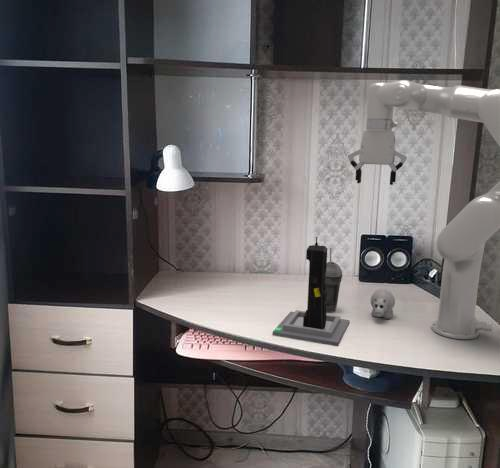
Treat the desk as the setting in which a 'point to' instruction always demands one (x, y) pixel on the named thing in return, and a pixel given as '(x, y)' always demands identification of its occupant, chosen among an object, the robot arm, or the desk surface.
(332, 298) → the beverage cup
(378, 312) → the chubby cartoon animal
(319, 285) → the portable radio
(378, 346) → the desk surface
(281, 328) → the charging dock
